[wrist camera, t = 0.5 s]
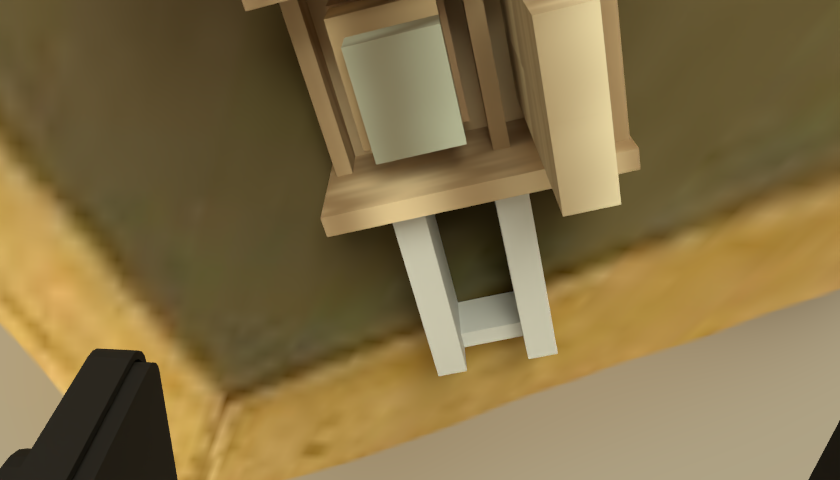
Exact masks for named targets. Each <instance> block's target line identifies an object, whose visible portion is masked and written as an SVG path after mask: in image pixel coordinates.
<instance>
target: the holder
mask: <svg viewBox="0 0 840 480" xmlns="http://www.w3.org/2000/svg"><path fill="white" fill-rule="evenodd" d="M495 205H496V210H497V215H498V219H499V224H500V229H501V234H502V238H503V243H504V248H505V253H506V258H507V262H508V267H509V272H510V277H511V281H512V286H513V291H512V292H507V293H502V294H497V295H492V296H487V297H482V298H477V299H473V300H468V301H463V302H458V301H457V297H456V294H455V290H454V286H453V282H452V278H451V275H450V271H449V267H448V263H447V259H446V256H445V252H444V248H443V244H442V240H441V237H440V233H439V229H438V225H437V221H436V218H435V214H432V215H427V216H423V217H418V218H414V219H409V220H404V221H400V222H395V223H393V227H394V230H395V233H396V236H397V240H398V243H399V246H400V250H401V253H402V256H403V260H404V263H405V266H406V270H407V273H408V276H409V280H410V283H411V286H412V290H413V293H414V296H415V300H416V303H417V306H418V309H419V313H420V316H421V319H422V323H423V326H424V329H425V333H426V336H427V339H428V343H429V346H430V349H431V353H432V356H433V359H434V363H435V366H436V369H437V372H438V376H443V375H448V374H453V373H459V372H464V371H467V365H466V356H465V347H468V346H474V345H479V344H484V343H489V342H494V341H499V340H504V339H509V338H515V337H520V336H523V337H524V341H525V346H526V350H527V355H528V359H532V358H537V357H542V356H548V355H553V354H558V352H557V347H556V341H555V336H554V330H553V324H552V319H551V313H550V308H549V302H548V297H547V291H546V285H545V280H544V274H543V269H542V263H541V258H540V252H539V246H538V241H537V235H536V230H535V224H534V219H533V213H532V207H531V202H530V196H529V194H524V195H519V196H515V197H510V198H506V199H501V200H496V201H495Z"/></svg>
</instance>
